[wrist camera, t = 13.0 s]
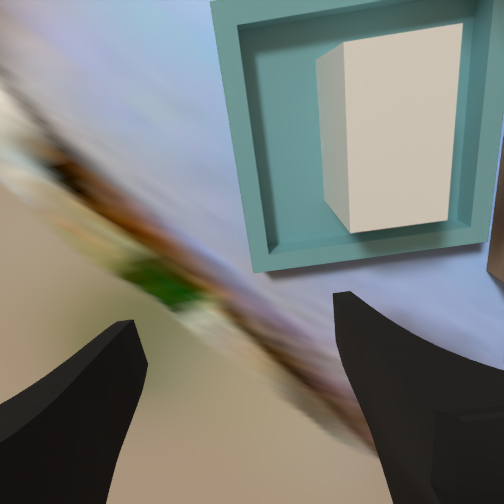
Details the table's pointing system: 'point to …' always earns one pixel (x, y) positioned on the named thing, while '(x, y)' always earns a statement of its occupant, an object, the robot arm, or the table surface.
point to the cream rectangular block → (389, 127)
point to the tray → (308, 129)
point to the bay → (498, 229)
